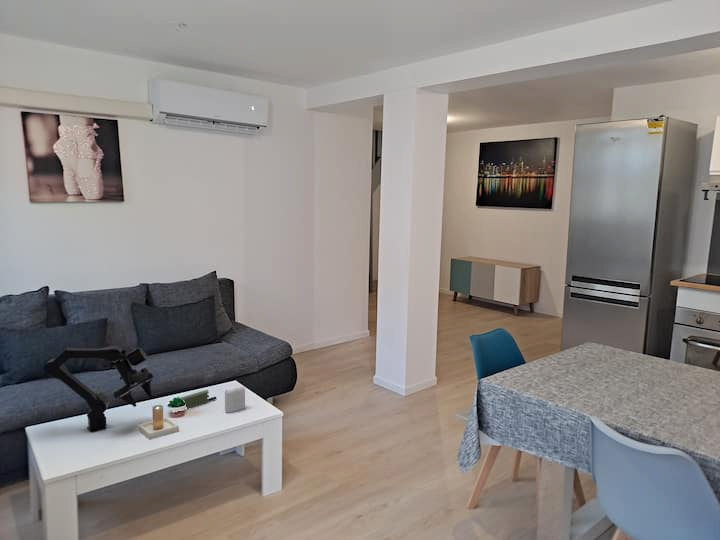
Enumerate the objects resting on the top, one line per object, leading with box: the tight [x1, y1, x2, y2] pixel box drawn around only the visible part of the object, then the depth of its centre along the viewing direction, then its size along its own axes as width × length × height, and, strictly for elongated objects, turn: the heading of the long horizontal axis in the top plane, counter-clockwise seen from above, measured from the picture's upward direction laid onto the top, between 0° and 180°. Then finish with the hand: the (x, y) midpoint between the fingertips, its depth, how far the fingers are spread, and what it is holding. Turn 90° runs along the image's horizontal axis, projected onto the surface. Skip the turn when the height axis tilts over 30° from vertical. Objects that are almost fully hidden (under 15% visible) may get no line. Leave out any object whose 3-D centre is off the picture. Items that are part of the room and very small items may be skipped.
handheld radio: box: [170, 389, 217, 410], centre depth 265 cm, size 7×3×25 cm
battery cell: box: [151, 404, 164, 431], centre depth 235 cm, size 4×4×10 cm
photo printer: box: [224, 384, 246, 414], centre depth 260 cm, size 10×4×12 cm, turn 134°
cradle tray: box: [137, 417, 180, 440], centre depth 236 cm, size 13×13×2 cm
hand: (143, 401), depth 237 cm, fingers open, 9 cm apart
